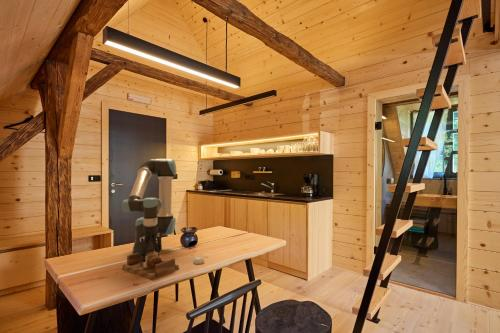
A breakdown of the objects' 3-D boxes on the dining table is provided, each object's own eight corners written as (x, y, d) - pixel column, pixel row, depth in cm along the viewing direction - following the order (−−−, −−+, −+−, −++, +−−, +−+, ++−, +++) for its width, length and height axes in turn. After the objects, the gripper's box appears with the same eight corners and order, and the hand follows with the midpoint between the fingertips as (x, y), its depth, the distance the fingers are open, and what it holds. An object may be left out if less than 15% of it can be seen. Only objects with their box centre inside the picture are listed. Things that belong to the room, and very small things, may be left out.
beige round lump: (190, 263, 162) (190, 258, 162) (198, 260, 168) (198, 255, 168) (198, 265, 159) (198, 260, 159) (205, 262, 164) (205, 257, 164)
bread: (151, 269, 145) (150, 259, 145) (139, 261, 159) (138, 252, 159) (162, 265, 149) (161, 255, 149) (149, 258, 163) (148, 249, 163)
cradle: (122, 269, 152) (122, 257, 152) (149, 260, 167) (149, 248, 167) (152, 280, 137) (152, 267, 137) (179, 269, 153) (179, 257, 152)
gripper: (139, 229, 142) (139, 272, 142) (168, 222, 158) (168, 261, 158) (131, 227, 146) (131, 269, 146) (160, 221, 162) (160, 259, 163)
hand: (150, 265), depth 152 cm, fingers closed on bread, 6 cm apart
